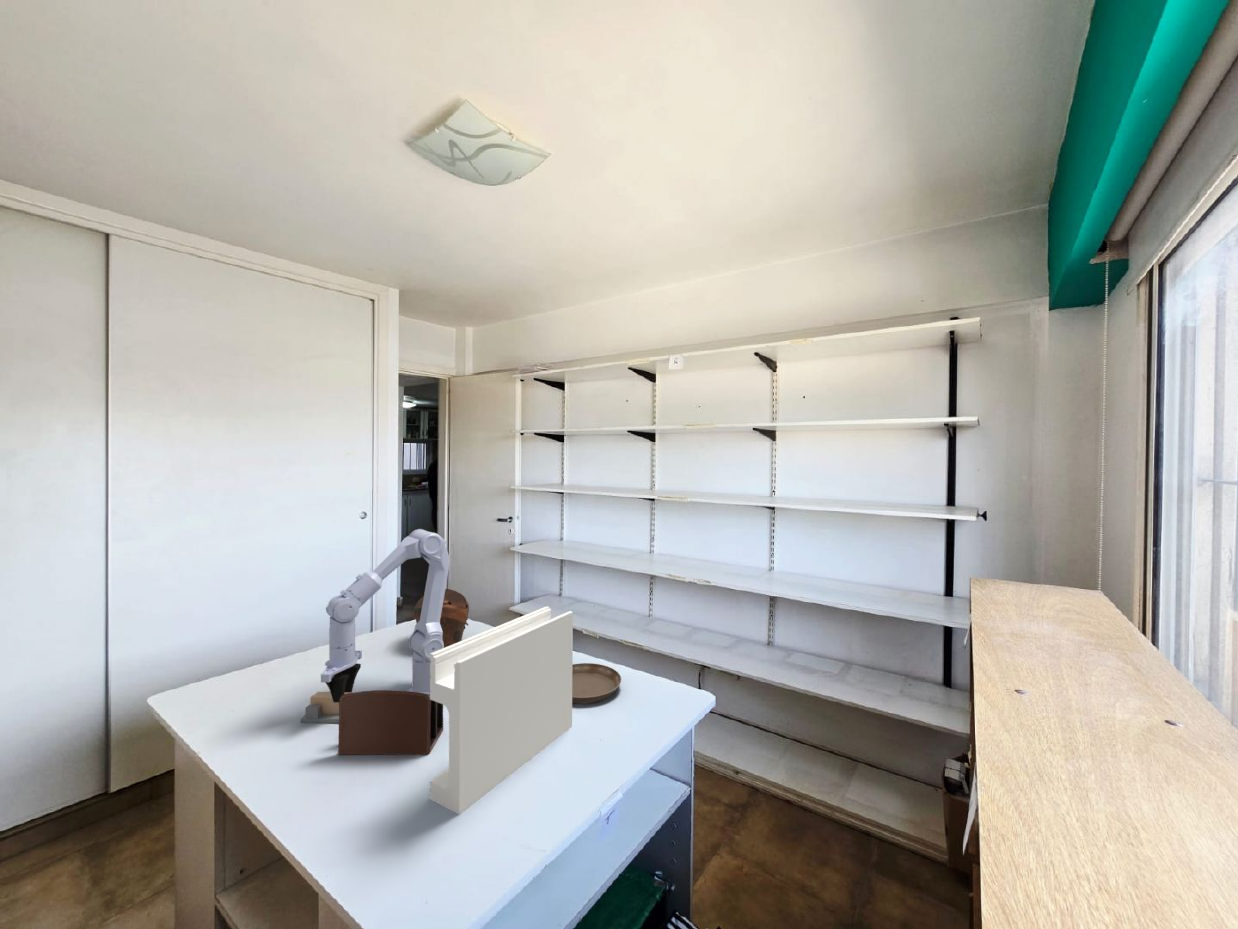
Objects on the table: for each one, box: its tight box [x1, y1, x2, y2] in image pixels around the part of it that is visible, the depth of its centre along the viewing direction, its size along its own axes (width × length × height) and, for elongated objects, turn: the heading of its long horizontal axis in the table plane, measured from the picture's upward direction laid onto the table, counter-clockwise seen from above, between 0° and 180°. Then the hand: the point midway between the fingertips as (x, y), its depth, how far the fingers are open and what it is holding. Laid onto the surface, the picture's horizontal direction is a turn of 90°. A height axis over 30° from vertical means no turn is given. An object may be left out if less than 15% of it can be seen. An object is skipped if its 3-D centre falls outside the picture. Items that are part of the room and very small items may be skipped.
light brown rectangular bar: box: [309, 691, 354, 714], centre depth 127 cm, size 14×3×4 cm, turn 88°
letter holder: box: [337, 689, 444, 756], centre depth 116 cm, size 10×20×14 cm, turn 92°
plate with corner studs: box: [300, 704, 339, 724], centre depth 127 cm, size 16×8×4 cm, turn 88°
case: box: [411, 588, 470, 648], centre depth 172 cm, size 18×20×18 cm
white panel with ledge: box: [429, 606, 574, 815], centre depth 110 cm, size 35×8×28 cm, turn 150°
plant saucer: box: [572, 662, 622, 705], centre depth 143 cm, size 21×21×3 cm
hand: (342, 698), depth 127 cm, fingers closed on light brown rectangular bar, 3 cm apart
